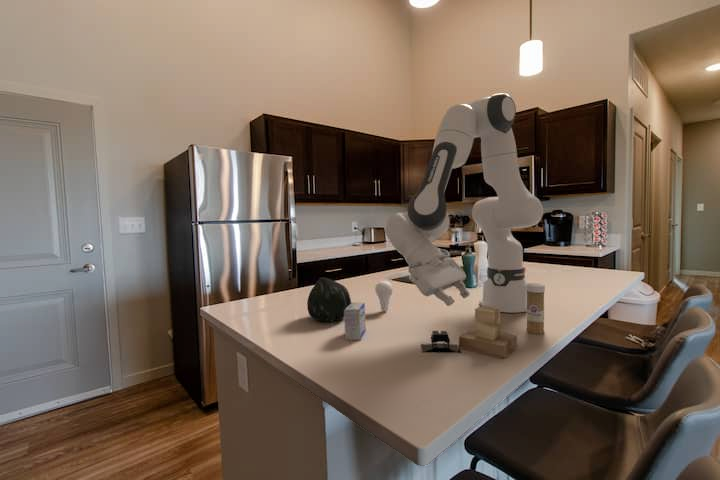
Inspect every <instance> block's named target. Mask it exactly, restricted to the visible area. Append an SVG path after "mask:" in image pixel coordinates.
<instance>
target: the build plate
mask: <svg viewBox="0 0 720 480" xmlns="http://www.w3.org/2000/svg"><path fill="white" fill-rule="evenodd" d="M431 332H432V333H431V335H430V342H431V343H421V344H420V349H421V353H424V354H425V353H430V354H431V353H433V354H434V353H439V354H440V353H442V354H443V353H445V354H447V353H451V354H452V353H453V354H455V353H456V354H457V353H459V354H461V353H462V351H461V348H459V344H456V343H455V344H454V343H452V344H451V340H450V337H449V334H448V332H447V330H440V332H439V330H432V331H431Z"/></svg>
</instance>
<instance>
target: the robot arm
mask: <svg viewBox="0 0 720 480" xmlns="http://www.w3.org/2000/svg"><path fill="white" fill-rule="evenodd" d="M516 115H517V109H516V104H515V101H514V100H513V98H512V97H511V96H510V95H509V94H508V93H495V94H492V95H491V96H486V97H483V98H479V99H476V100H474V101H472V102H471V103H468V104H464V103H463V104H462V103H460V104H459V103H458V104H457V103H456V104H454V105H451V106H450V107H449V108H448V109H447V110H446V112H445V114H444V115H443V117H442V120H441V121H440V125H439V126H438V129H437V132H436V136H435V139H434V143H433V147H432V154H431V156H430V160H429V163H428V165H427V168H426V171H425V173H424V177H423V180H422V182H421V185H420V186H419V188H418V189H417V191H416V192H415V193H414V194H413V196H412V197H411V198H410V200H409V201H408V204H407V212H396V213H394V215H392V216H391V217H390V218H389V219H388V221H387V222H386V226H385V229H384V231H385V235H386V237H387V239H388V240H389V242H390V243H391V245H392V246H393V248H394V249H395V250H396V251H397V252H398V253H399V254H400V255H402V257H403V258H404V259H405V261H406V263H407V265H408V270H407V271H408V273H409V274H410V278H411V281H412V282H413V283H414V284H415V286H416V288H417V289H418V291H419V292H420V293H421V294H422V295H423V296H425V297H430V296H432V295H434V296H435V297H436V298H437V299H439V300H440V301H442V302H444V304H445V305H446V306H447V307H450V306H451V305H453V304H454V303H455V300H454V298H453V297H452V296H451V295H448V294H447V293H446V292H445V290H448V289H450V288H452V287H455V288H456V289H457V290H458V291H459V295H460V296H461V298H462V299H466V298H468V297H469V296H470V294H471V293H470V291H469V290H468V289H467V288H466V284H465V282H463V281H465V280H466V278H467V275H466V273H465V271H464V270H463V269H462V267H461V266H460V265H459V264H458V263H457V262H456V260H455V259H453V258H452V257H451V253H450V252H449V251H448V250H447V249H443V248H439V247H437V246H435V245H433V242H434V241H436V240H438V239H439V238H442V237H443V236H444V235H445V234H446V233H447V232H448V231H449V228H450V225H451V224H450V222H451V221H450V216H449V212H448V209H447V208H448V207H447V201H446V197H445V192H446V188H447V185H448V182H449V180H450V177H451V173H452V171H453V169H457V168H460V167H462V166H463V165H465V164H466V163H467V160H468V158H469V155H470V153H471V150H472V147H473V144H474V140H475V139H476V138H480V140H481V141H480V153H481V154H480V155H481V162H482V163H481V164H482V165H481V166H482V172H483V179H484V181H485V183H486V184H487V185H489V186H491V187H492V188H493V190H494V191H495V192H496V195H497V196H494V197H493V196H490V197H486V198H483V199H480V200H478V201H477V202H475V203H474V205H473V207H472V209H471V217H472V220H473V221H474V223H475V224H476V225H477V226H478V227H479V228H480V229H481V232H482V233H483V235H484V238H485V241H486V245H487V257H488V258H487V260H488V263H487V264H488V266H487V269H486V277H487V279H486V280H485V281H484V282H483V288H482V299H481V300H479V302H478V304H479V305H480V306H482V305H486V306H492V307H499V308H500V313H527V290H526V285H527V284H528V282H527V280H526V279H525V277H526V275H525V274H526V270H527V269H526V267H525V266H524V267H523V265H524V264H523V258H524V257H523V255H524V254H523V253H524V252H523V251H524V250H523V246H522V244H521V242H520V241H519V240H517V239H516V238H515V237H514V236H513V233H512V231H511V229H525V228H529V227H533V226H536V225H538V224H539V222H540V221H541V220H542V218H543V214H544V207H543V204H542V202H541V201H540V199H539V198H538V197H536V196H535V195H534V194H532V193H531V192H530V191H529V190H528V188H527V187H526V186H525V184H524V182H523V180H522V177H521V173H520V167H519V162H518V161H519V160H518V151H517V145H516V143H517V142H516V139H515V136H514V131H513V128H512V126H513V124H514V121H515V118H516Z"/></svg>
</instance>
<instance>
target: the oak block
mask: <svg viewBox="0 0 720 480" xmlns="http://www.w3.org/2000/svg"><path fill="white" fill-rule="evenodd" d="M474 314H475V315H474V319H475V321H474V322H475V323H474V324H475V326H474V327H475V336H476V337H480V338H485V339H490V340H495V339H496V338H497V337H498V336H500V332H501V312H500V308H499V307H492V306H486V305H480V306H478V307H476V308H475V309H474Z"/></svg>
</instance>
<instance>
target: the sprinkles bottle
mask: <svg viewBox="0 0 720 480" xmlns="http://www.w3.org/2000/svg"><path fill="white" fill-rule="evenodd" d="M527 283H528V282H527ZM526 290H527V312H526V328H525V329H526V331H527V332H528V333H531V334H535V335H538V334H539V335H541V334H543V333H545V323H544V322H545V292H546V286H545V284H543V283H538V282H530V283H528V284H527V285H526Z"/></svg>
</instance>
